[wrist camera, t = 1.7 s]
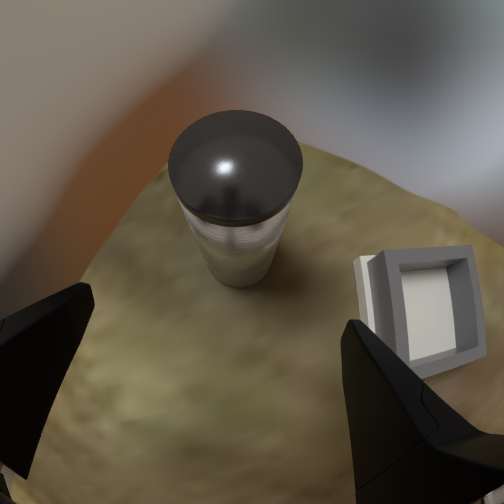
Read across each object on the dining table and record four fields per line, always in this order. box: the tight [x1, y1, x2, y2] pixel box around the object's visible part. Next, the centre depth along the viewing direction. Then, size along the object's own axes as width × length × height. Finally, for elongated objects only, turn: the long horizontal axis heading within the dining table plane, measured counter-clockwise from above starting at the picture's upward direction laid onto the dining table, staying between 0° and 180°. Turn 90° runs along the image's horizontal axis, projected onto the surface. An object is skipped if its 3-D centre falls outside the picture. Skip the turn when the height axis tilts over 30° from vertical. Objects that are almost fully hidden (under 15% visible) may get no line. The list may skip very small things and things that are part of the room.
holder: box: [353, 245, 487, 379], centre depth 19 cm, size 10×10×4 cm
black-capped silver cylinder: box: [168, 110, 303, 288], centre depth 16 cm, size 5×5×12 cm
